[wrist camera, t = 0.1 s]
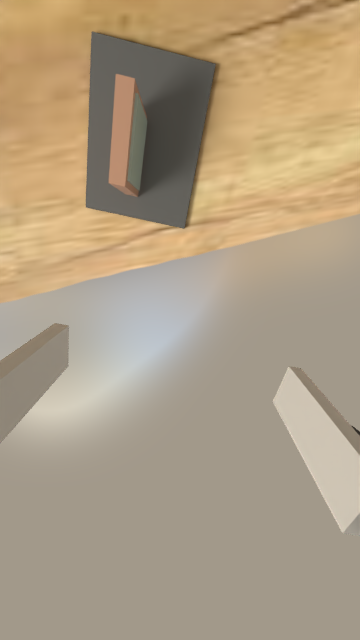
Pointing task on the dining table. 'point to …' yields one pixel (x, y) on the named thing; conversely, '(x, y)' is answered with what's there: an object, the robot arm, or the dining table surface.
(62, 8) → the dining table surface
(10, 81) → the dining table surface
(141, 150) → the block
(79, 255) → the dining table surface
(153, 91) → the mat
